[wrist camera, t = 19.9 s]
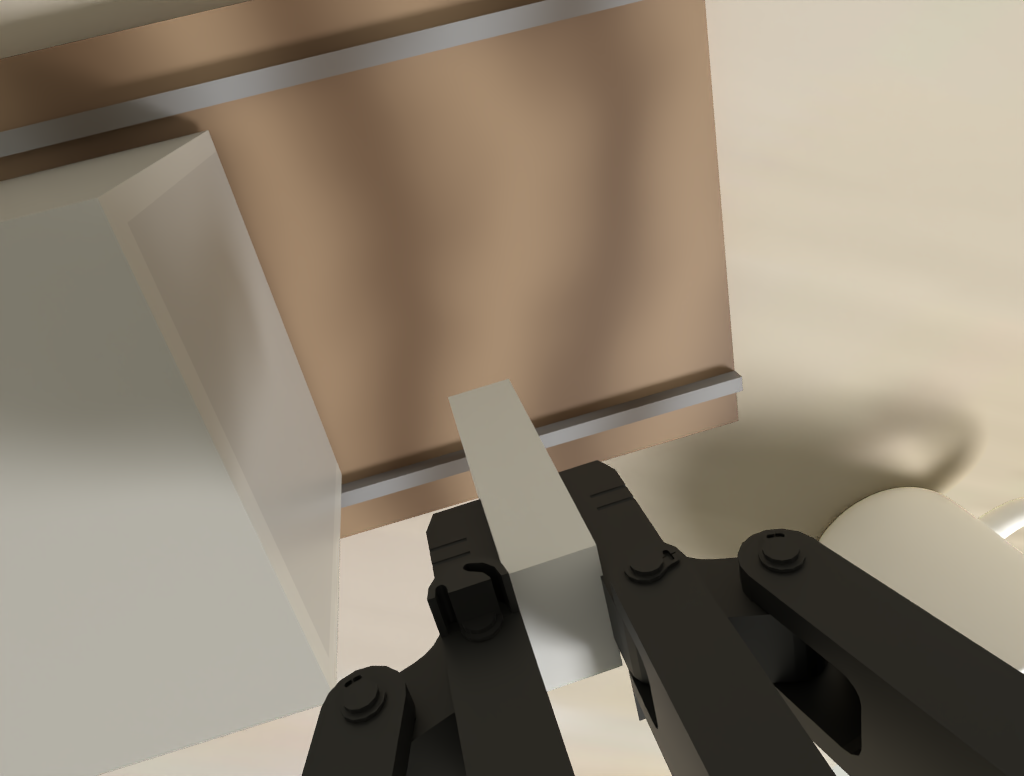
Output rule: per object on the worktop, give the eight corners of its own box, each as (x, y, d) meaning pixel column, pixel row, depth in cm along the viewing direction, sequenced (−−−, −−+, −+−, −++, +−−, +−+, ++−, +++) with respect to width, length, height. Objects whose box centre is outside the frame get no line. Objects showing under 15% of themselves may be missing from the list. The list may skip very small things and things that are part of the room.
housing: (64, 554, 26) (-94, 835, 17) (-151, 218, 20) (-565, 364, 11) (341, 474, 27) (336, 700, 17) (208, 130, 21) (97, 198, 12)
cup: (774, 554, 35) (922, 733, 26) (992, 400, 33) (1230, 533, 24) (842, 644, 38) (992, 829, 29) (1041, 509, 37) (1262, 659, 28)
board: (150, 576, 29) (125, 639, 26) (-131, 93, 20) (-215, 101, 17) (724, 407, 30) (765, 447, 27) (680, -97, 22) (731, -119, 19)
